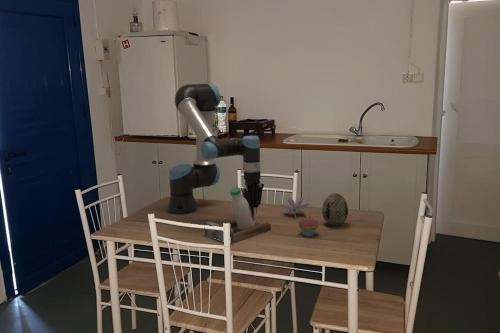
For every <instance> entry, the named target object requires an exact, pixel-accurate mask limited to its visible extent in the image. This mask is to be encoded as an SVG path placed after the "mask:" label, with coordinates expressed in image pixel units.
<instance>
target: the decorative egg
mask: <svg viewBox="0 0 500 333" xmlns="http://www.w3.org/2000/svg"><path fill="white" fill-rule="evenodd" d="M321 212H322V213H321V214H322V218H323V219H324V221H325V222H326V223H327V224H328V225H330V226H333V227H336V226H337V227H338V226H340V225H343V223H345V221H346V220H347V218H348V214H349V206H348V203H347V201H346V199H345V197H344V196H343V195H342V194H339V193H338V192H337V193H336V192H335V193H334V192H332V193H331V194H329V195H328V196H327V197H326V198H325V199H324V201H323V204H322V207H321Z"/></svg>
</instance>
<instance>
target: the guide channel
mask: <svg viewBox="0 0 500 333" xmlns="http://www.w3.org/2000/svg"><path fill="white" fill-rule="evenodd" d="M228 222H229V223H230V224H231V229H230V237H231V244H230V245H232V244H235V243H238V242H241V241H243V240H246V239H250V238H252V237H255V236H259V235H260V234H263V233H266V232H269V231H271V230H272V228H271V227H272V226H271V225H272V223H270V222H267V221H266V222H264V223H260V224H257V225H255V226H254V227H252V228H249V229H246V230H243V231H240V230H239V231H238V232H234V229H237V228H238V225H237V223H236V220H235V219H233V220H230V221H227V222H225V223H228ZM205 225H209V226H219V227H223V223H219V224H218V223H215V222H212V221H210V220H208V221H205V222H204V226H205ZM205 235H206V237H207V236H209V237H208V238H210V237H212V238H211V239H213V238H216V239H219V240H221V241H223V231H217V230H206V229H205V228H204V236H205Z"/></svg>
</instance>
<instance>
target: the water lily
mask: <svg viewBox="0 0 500 333" xmlns="http://www.w3.org/2000/svg"><path fill="white" fill-rule="evenodd" d="M303 200H304V197H299V199H297V200H294V198H291V197H289V198H287V202H285V204H282V203H281V204H280V206H281V207H282V208H285V209H287V210H285V211H284V212H283V213H282V214H283V215H288V214H292V213H293V214H294V215H293V216H294V219H295V220H296V219H297V215H296V213H297V214H299V215H304V214H305V212H304V211H303V209H305V208H306V207H307V208H308V206H309V205H310V203H309V202H308V203H307V202H303Z"/></svg>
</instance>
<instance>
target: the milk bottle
mask: <svg viewBox="0 0 500 333" xmlns="http://www.w3.org/2000/svg"><path fill="white" fill-rule="evenodd" d="M229 193H230V196H231V198H232V199H231V210H232V213H233V217H234V220H236V223H237V225H238V227H237V228H238V231H239V232H240V231H243V230H246V229H249V228H252V227H254V226H256V222H254V219H253V216H252V213H251V210H250V207H249V204H248V202H247V200H246V199H245V198H244V197H243V193H242V191H241V188H240V187H237V186H236V187H233V188H231V189H230V191H229Z"/></svg>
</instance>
